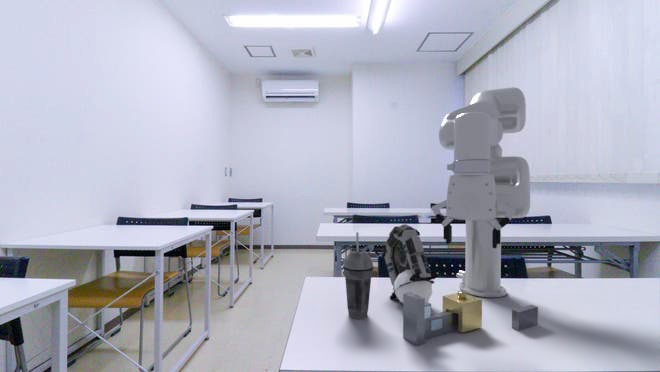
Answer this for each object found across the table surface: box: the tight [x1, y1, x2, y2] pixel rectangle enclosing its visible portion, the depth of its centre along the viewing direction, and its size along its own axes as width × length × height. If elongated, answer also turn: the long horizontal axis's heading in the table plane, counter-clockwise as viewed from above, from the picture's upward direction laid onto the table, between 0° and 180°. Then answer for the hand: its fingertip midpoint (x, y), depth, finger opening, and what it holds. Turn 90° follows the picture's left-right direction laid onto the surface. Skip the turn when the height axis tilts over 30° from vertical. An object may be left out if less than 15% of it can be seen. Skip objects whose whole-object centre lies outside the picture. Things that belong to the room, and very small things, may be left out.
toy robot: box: [381, 223, 439, 304], centre depth 90 cm, size 18×10×22 cm
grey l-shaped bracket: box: [402, 292, 459, 347], centre depth 72 cm, size 4×19×9 cm, turn 118°
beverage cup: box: [342, 232, 374, 320], centre depth 80 cm, size 7×7×20 cm
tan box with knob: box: [441, 290, 483, 333], centre depth 74 cm, size 6×6×7 cm
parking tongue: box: [511, 304, 539, 332], centre depth 75 cm, size 2×7×4 cm, turn 118°
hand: (471, 245), depth 76 cm, fingers open, 9 cm apart
